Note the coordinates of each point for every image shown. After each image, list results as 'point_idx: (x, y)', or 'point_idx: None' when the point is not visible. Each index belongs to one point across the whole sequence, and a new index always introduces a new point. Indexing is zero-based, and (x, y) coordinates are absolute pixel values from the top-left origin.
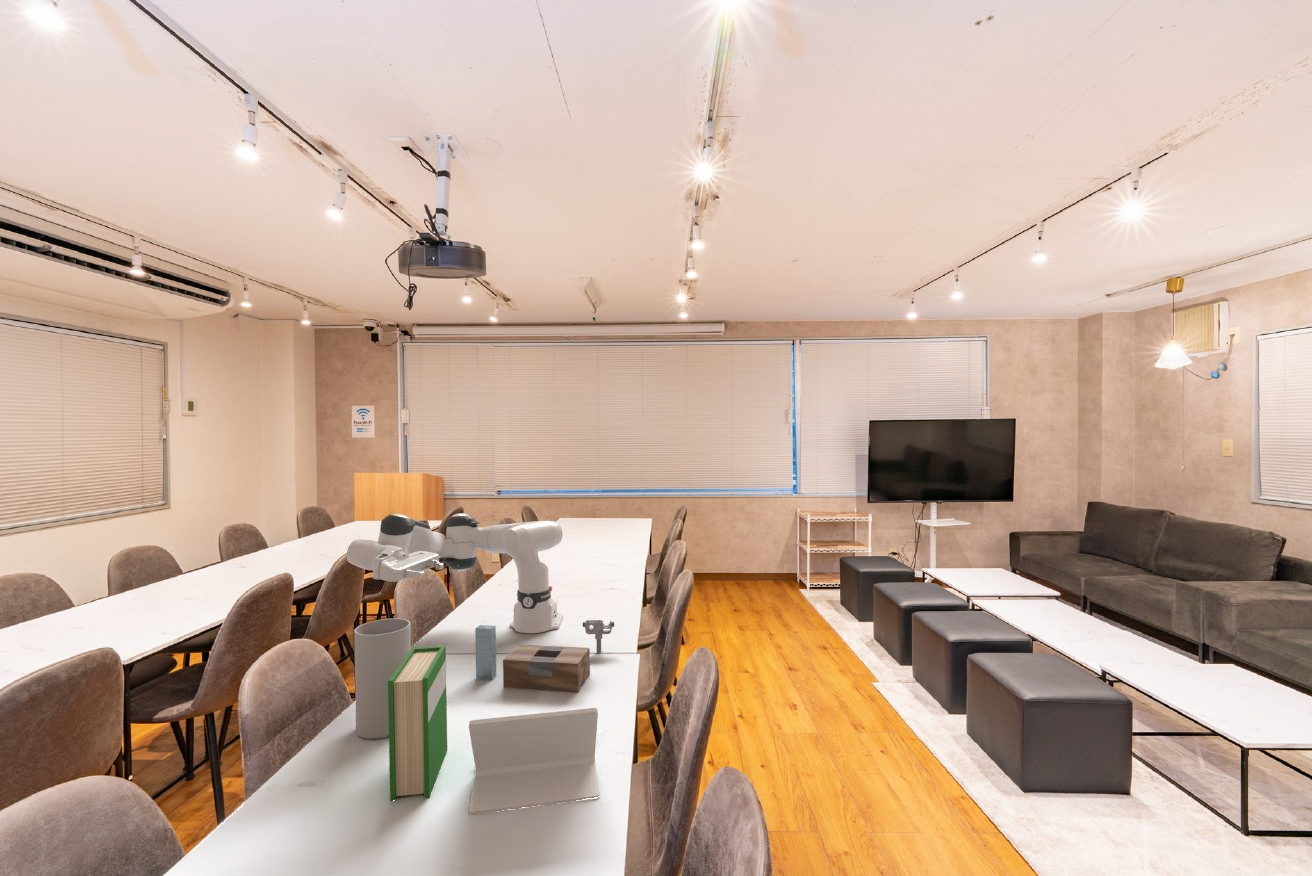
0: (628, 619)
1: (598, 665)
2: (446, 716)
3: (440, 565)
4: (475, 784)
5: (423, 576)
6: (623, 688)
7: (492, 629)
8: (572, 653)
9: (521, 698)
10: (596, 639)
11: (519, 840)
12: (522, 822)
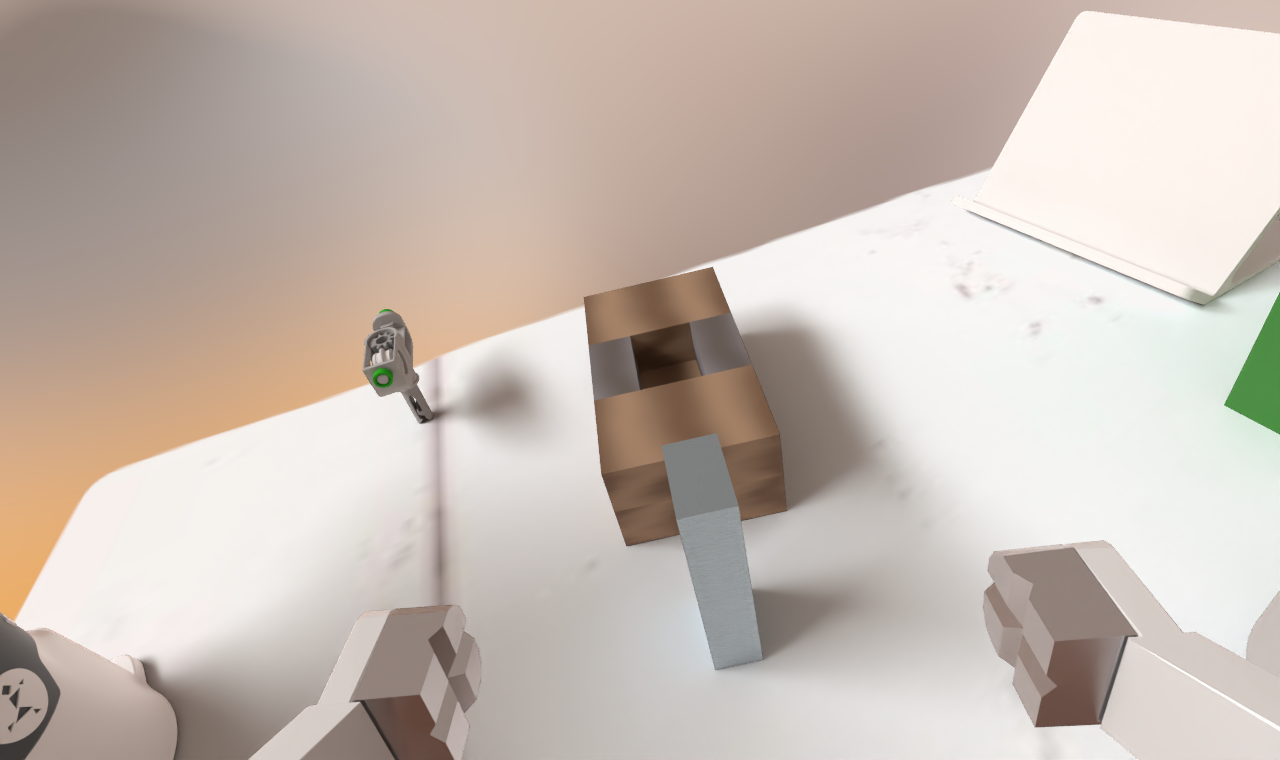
0: (112, 472)
1: (534, 375)
2: (1271, 314)
3: (456, 612)
4: (1251, 269)
5: (987, 605)
6: None
7: (702, 441)
8: (641, 306)
9: (825, 423)
10: (411, 389)
11: None
12: None
